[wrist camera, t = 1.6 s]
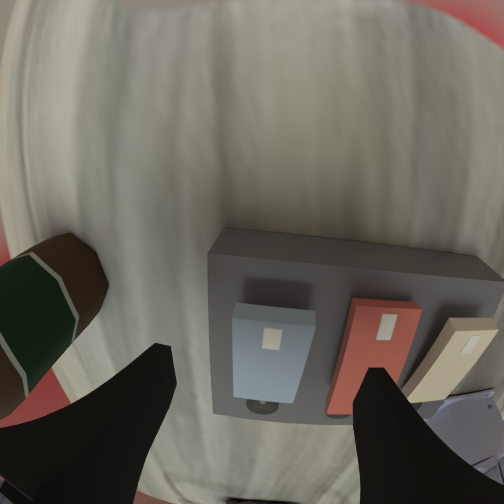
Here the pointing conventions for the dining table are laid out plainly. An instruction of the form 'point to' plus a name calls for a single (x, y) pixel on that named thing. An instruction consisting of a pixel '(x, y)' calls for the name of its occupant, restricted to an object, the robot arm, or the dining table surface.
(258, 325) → the slate rocker
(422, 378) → the block
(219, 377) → the rocker switch panel
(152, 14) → the dining table surface
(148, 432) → the robot arm
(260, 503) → the perforated stone tool
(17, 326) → the beer bottle
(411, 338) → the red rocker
